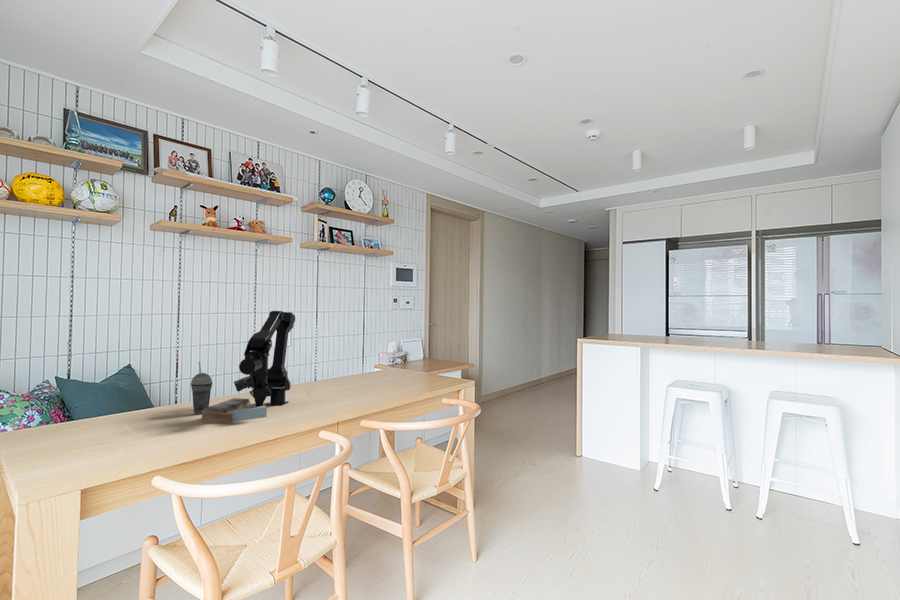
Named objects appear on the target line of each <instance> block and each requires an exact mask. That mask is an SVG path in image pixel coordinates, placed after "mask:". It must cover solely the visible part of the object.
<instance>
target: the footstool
mask: <svg viewBox="0 0 900 600" xmlns="http://www.w3.org/2000/svg"><path fill="white" fill-rule="evenodd" d="M250 407H251V400H250V399H249V398H243V397H242V398H240V397H232V398H230V399H227V400H224V401H222V402H220V403H219V402H218V403H216V404H213V405H209V407H207V408H204V409H203V411H202V415H201V422H202V423H214V424H215V423H217V424H233V421H232V417H233V413H226V411H228V410H234V409H242V408H250Z"/></svg>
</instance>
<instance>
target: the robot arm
mask: <svg viewBox="0 0 900 600" xmlns="http://www.w3.org/2000/svg"><path fill="white" fill-rule="evenodd" d="M295 322H296V315H295V314H294V313H293V312H292V311H289V312H288V311H282V310H271V311H269V316H268V317H267V318H266V321H265V322H264V324H263V325H262V326H261V328H260V330H259V331H258V332H256V333H253V335H252V336H250V338H249V340H248V342H247V344H246V348H245V350H244V353H243V356H244V358H243V359H242V360H240V362H239V365H238V368H239V372H240V373H242V374H243V375H247V376H245V377H242V378H240V379H238V380H237V379H236V380H235V381H233V384H234V387H235V390H236V392H241V391H242V390H244V389H251V390H250V391H249V394H250V396H251V397H252V398H253V400H254V403H255V404H254V405H255V407H258V406H264V405H263V404H264V402H265V400H266V399H267V397H270V398H269V399H270V400H269V401H270V402H269V403H267V404H266V405H267V406H275V407H282V406H284V405H286V404H288V403H290V402H289V401H286V391H290V390H291V385H292V383H291V381H290V379H289V377H288V371H287V369H286V367H285V364H286V356H287V355H286V354H287V348H288V347H287V346H288V341H289V333H290V332H291V331H292V329H293V328H294V325H295ZM275 332H276V335H275V342H274V348H273V349H274V350H273V359H272V364H271V366H270V367H268V366H269V357H270V351H271V349H272V347H273V340H272V338H273V336H274V334H275Z"/></svg>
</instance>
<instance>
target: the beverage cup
mask: <svg viewBox="0 0 900 600" xmlns="http://www.w3.org/2000/svg"><path fill="white" fill-rule="evenodd" d="M201 365H202V363H201V361H198V368H199V369H198V370H199V371H198V372H199V373H197V374H196V375H194V376H193V377H192V379H191V382H190V386H191V392H192V403H193V405H192V407H193V414H194V415H196V416H199V415H200V416H202V411H203V409H204V408H207V407H210V400H211V399H210V398H211V393H212V391H211V390H212V386H213V380H212V377H211V376H210V374H208V373H205V372H202V366H201Z"/></svg>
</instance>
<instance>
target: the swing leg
mask: <svg viewBox="0 0 900 600" xmlns="http://www.w3.org/2000/svg"><path fill="white" fill-rule="evenodd" d="M267 411H268V407H267V406H266V405H262V406H258V407H256V406H252V407H251V406H250V408H242V409H234V410H228V411H226V413H233V417H232V422H238V421H246V420H251V419H258V418H265V417H267V416H268V415H267Z"/></svg>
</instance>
